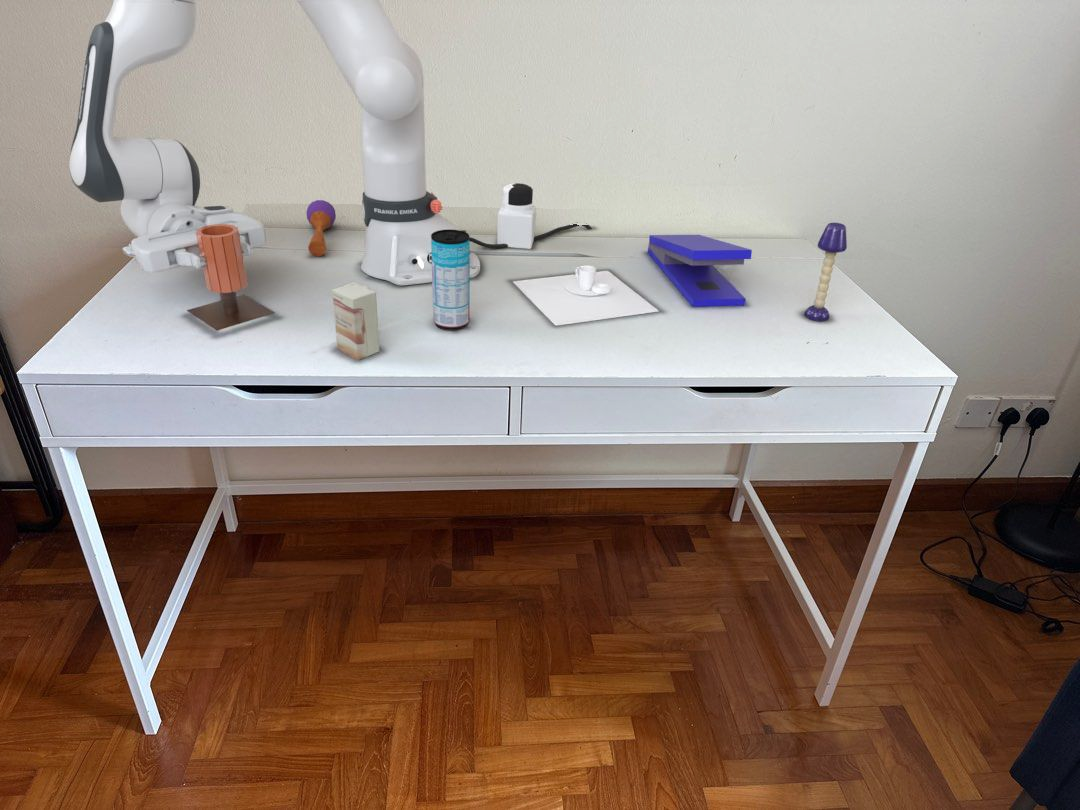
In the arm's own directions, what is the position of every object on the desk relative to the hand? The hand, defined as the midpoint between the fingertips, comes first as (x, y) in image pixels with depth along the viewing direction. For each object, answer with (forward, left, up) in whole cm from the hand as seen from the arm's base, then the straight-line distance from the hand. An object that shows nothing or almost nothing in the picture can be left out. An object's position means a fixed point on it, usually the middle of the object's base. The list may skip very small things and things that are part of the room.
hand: (225, 256), depth 117 cm
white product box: (-19, +14, -11) cm, 26 cm away
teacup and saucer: (-59, -3, -11) cm, 60 cm away
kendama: (-12, -37, -11) cm, 41 cm away
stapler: (-83, -10, -11) cm, 84 cm away
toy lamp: (-98, +10, -11) cm, 99 cm away
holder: (+1, -1, -11) cm, 11 cm away
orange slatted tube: (+1, -1, -5) cm, 5 cm away
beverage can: (-34, +6, -11) cm, 36 cm away
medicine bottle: (-52, -32, -11) cm, 62 cm away
